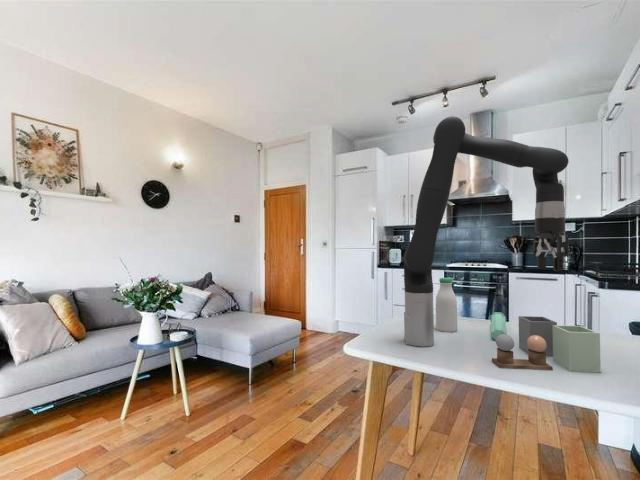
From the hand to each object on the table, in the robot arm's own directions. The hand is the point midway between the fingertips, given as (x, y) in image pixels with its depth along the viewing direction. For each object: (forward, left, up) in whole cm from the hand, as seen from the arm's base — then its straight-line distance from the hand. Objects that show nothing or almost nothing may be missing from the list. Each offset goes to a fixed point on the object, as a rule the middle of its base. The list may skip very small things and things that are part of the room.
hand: (549, 269), depth 97 cm
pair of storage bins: (-3, -6, -25) cm, 26 cm away
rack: (-15, -13, -25) cm, 32 cm away
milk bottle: (-26, +22, -25) cm, 42 cm away
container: (-8, +20, -26) cm, 33 cm away
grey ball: (-19, -13, -19) cm, 30 cm away
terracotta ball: (-11, -13, -19) cm, 26 cm away
